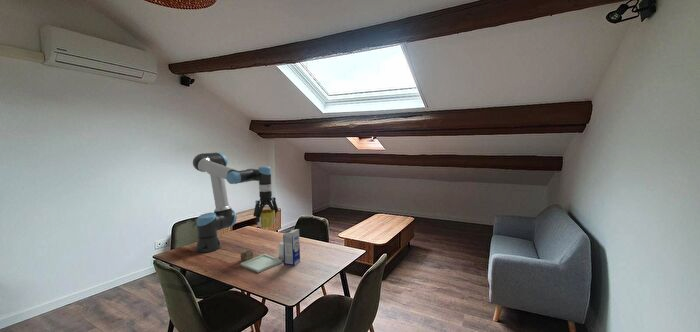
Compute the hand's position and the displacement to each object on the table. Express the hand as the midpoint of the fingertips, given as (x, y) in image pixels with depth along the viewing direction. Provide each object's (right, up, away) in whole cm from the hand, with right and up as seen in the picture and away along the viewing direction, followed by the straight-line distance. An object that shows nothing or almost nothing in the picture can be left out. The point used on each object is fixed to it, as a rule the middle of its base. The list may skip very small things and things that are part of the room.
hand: (266, 224), depth 187 cm
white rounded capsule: (+13, -19, -8) cm, 24 cm away
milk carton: (+20, -19, -16) cm, 32 cm away
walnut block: (-9, -19, -10) cm, 24 cm away
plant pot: (0, -1, 0) cm, 1 cm away
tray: (+2, -20, -17) cm, 26 cm away
